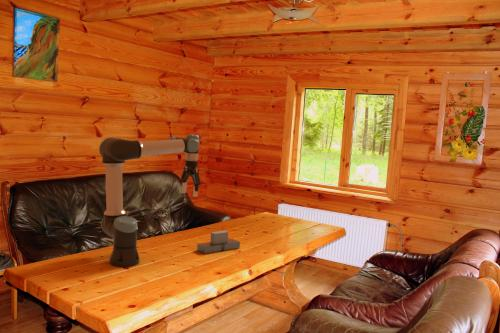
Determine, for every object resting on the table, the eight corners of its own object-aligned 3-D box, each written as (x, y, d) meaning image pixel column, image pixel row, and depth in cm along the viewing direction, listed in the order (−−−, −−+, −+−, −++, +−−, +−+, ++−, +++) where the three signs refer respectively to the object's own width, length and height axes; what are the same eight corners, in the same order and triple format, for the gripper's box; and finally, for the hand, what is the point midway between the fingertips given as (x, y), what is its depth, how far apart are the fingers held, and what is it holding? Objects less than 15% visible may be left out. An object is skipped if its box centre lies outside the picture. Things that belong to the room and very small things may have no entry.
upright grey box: (213, 250, 257) (214, 233, 256) (210, 248, 260) (210, 232, 259) (227, 248, 263) (228, 232, 262) (223, 246, 266) (224, 230, 265)
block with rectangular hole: (204, 254, 250) (204, 247, 250) (196, 250, 256) (197, 243, 256) (239, 248, 267) (240, 241, 266) (231, 244, 273) (232, 238, 273)
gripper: (207, 162, 255) (205, 197, 257) (186, 158, 275) (184, 191, 276) (196, 162, 251) (194, 198, 252) (176, 158, 270) (174, 191, 272)
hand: (189, 194), depth 264 cm, fingers open, 13 cm apart
